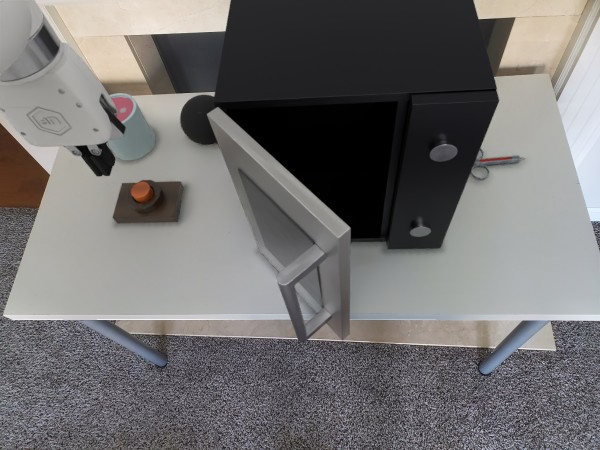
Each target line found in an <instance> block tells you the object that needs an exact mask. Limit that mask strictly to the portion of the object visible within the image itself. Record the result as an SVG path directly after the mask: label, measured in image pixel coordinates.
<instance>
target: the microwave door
mask: <svg viewBox="0 0 600 450" xmlns="http://www.w3.org/2000/svg"><path fill="white" fill-rule="evenodd" d="M207 116H208V119H209V121H210V124H211V126H212V129H213V132H214V134H215V137H216V139H217V142H218V143H217V145H218V147H219V149H220V152H221V155H222V157H223V160H224V162H225V165H226V167H227V170H228V172H229V176H230V178H231V180H232V184H233V186H234V188H235V190H236V193H237V196H238V198H239V201H240V204H241V206H242V208H243V210H244V214H245V216H246V219H247V222H248V224H249V227H250V230H251V232H252V235H253V237H254V240H255V242H256V245H257V247H258V250H259V252H260V253H261V254H262V256H263V257H264V258H265V259H266V260H267V261H268V262H269V263H270V264H271V265H272V267H274V269H275V270H276V271H277V272H278V273H277V275H276V278H275V280H276V283H277V286H278V289H279V291H280V294H281V297H282V299H283V302H284V305H285V308H286V311H287V313H288V315H289V319H290V322H291V324H292V328H293V330H294V333H295V336H296V338H297V340H298V341H299V342H300V343H305V342H307V341H308V340H310V338H311V337H312V336H314V335H315V334H316V333H317V332H318V331H319V330H320V329H321V328H323V327H324V326H325V325H327V326H328V327H329V328H330V329H331V330H332V332H333V333H335V335H336V336H337V337H338V338H339V339H340V340H341V341H344V340H345V339H346V338H347V337H348V336H350V334H351V333H350V332H351V331H350V330H351V327H350V326H351V325H350V324H351V243H352V242H351V228H350V227H349V226H348V225H347V224H346V223H345V222H344V221H342V220H341V219H340V218H339V217H338V216H337V215H336V214H335V213H334V212H333V211H332V210H330V209H329V208H328V207H327V206H326V205H325V204H324V203H323V202H322V201H321V200H319V199H318V198H317V197H316V196H315V195H314V194H313V193H312V192H311V191H310V190H309V189H307V188H306V187H305V186H304V185H303V184H302V183H301V182H300V181H299V180H298V179H296V178H295V177H294V176H293V175H292V174H291V173H290V172H289V171H288V170H287V169H285V168H284V167H283V166H282V165H281V164H280V163H279V162H278V161H277V160H276V159H275V158H273V157H272V156H271V155H270V154H269V153H268V152H267V151H266V150H265V149H264V148H262V147H261V146H260V145H259V144H258V143H257V142H256V141H255V140H254V139H253V138H252V137H250V136H249V135H248V134H247V133H246V132H245V131H244V130H243V129H242V128H241V127H239V126H238V125H237V124H236V123H235V122H234V121H233V120H232V119H231V118H230V117H229V116H227V115H226V114H225V113H224V112H223V111H222V110H221V109H220V108H219V107H217V108H215V109H214V110H212V111H211V112H209V113H208V114H207ZM298 295H300V297H301V298H302V299H303V300H304V301H305V302H306V303H307V304H308V305H309V306H310V308H312V310H313V311H314V312H315V313H316V314H315V315H313V316H312V317H311V318H310V319H309V320H307V321H306V322H305V320H304V315H303V312H302V309H301V305H300V302H299V298H298Z"/></svg>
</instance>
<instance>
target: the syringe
mask: <svg viewBox="0 0 600 450" xmlns="http://www.w3.org/2000/svg"><path fill="white" fill-rule="evenodd" d="M479 152H481V157H479V158H476V160H475V163H474V165H473V168H472V170H471V173H470V176H471V177H473V178H474V179H475V180H479V181H484V180H486V179H487V178H489V176H490V173H491V172H490V169H489V168H488V167H487V166H497V165H507V164H517V163H520V161H523V160H526V159H528V157H526V158H525V157H522V156H521V157H520V155H510V156H498V157H497V156H496V157H485V158H484V155H485V153H484V150H483V149H482V148H480V150H479ZM477 167H481V168H484V169H485V170H486V171H487V175H486V176H484V177H478V176H477V175H475V174H474V173H473V170H474V168H477Z"/></svg>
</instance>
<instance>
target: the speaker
mask: <svg viewBox="0 0 600 450" xmlns="http://www.w3.org/2000/svg"><path fill="white" fill-rule="evenodd" d="M213 101H214V95H211V94H199V95H195V96H192V97H191V98H189V99H188V100H187V101H186V102H185V103H184V105H183V106H182V108H181V111H180V115H179V123H180V127H181V129H182V131H183V133H184V135H185V136H186V137H187V138H188V139H189V140H190V141H192V142H193V143H195V144H198V145H201V146H213V145H216V144H218V142H217V139H216V137H215V134H214V132H213V129H212V126H211V124H210V121H209V119H208V116H207V114H208V113H209V112H211V111H212V110H214V109H215V106H214V103H213Z"/></svg>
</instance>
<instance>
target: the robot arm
mask: <svg viewBox="0 0 600 450" xmlns="http://www.w3.org/2000/svg"><path fill="white" fill-rule="evenodd" d="M109 95H110V94H109V92H108V91H107V89H106V88H105V86H104V85H103V84H102V83H101V81H100V80H99V78H98V77H97V75H96V74H95V73H94V72H93V70H92V69H91V68H90V66H89V65H88V64H87V63H86V62H85V61H84V59H83V58H81V56H80V55H79V54H78V53H77V51H76V50H75V49H74V48H73V47H72V46H71V45H70V44H69V43H67V42H62V40H61V39H60V37H59V35H58V34H57V32H56V31H55V30H54V27H53V26H52V25H51V23H50V22H49V20H48V18H47V17H46V16H45V14H44V13H43V11H42V9H41V8H40V5H38V3H37V1H36V0H0V113H1V114H2V115H3V116H4V118H5V119H6V120H7V122H8V123H9V124H10V125H11V126H12V127H13V129H14V130H15V132H17V134H18V135H19V136H20V137H21V138H22V139H23V140H24V141H25V142H26V143H28V144H29V145H31V146H33V147H38V148H56V147H57V148H59V147H62V148H65V149H67V151H68V152H70V154H72V155H73V156H75V157H81V159H82V160H83V162H85V164H86V165H87V166H88V168H89V169H90V170H91V171H92V173H93V174H94V175H95V176H96V178H97V177H98V178H99V177H103V176H104V177H110V176H111V173H112V170H113V167H114V166H115V164H116V155H115V153H114V152H113V150H112V149H111V148H110V146H109V145H108V143H107V142H108V141H109V140H114V139H118V138H122V137H124V134H125V130H126V127H125V126H124V125H123V124H122V122H121V121H120V120H119V119H118V118H117V117H116V116H117V115H118V110H117V108H116V106H115V104H114V102H113V101H112V99H111V97H110V96H109Z"/></svg>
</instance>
